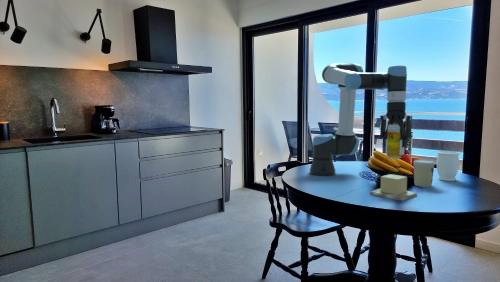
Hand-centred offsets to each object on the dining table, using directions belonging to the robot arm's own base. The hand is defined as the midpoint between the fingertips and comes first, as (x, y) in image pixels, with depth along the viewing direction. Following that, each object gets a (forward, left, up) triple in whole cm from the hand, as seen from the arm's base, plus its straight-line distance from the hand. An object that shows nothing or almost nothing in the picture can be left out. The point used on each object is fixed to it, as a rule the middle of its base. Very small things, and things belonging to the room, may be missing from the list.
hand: (394, 153), depth 147 cm
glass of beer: (0, 0, -2) cm, 2 cm away
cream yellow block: (0, 0, -17) cm, 17 cm away
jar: (+3, +51, -19) cm, 55 cm away
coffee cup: (0, +29, -19) cm, 35 cm away
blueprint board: (0, 0, -19) cm, 19 cm away
